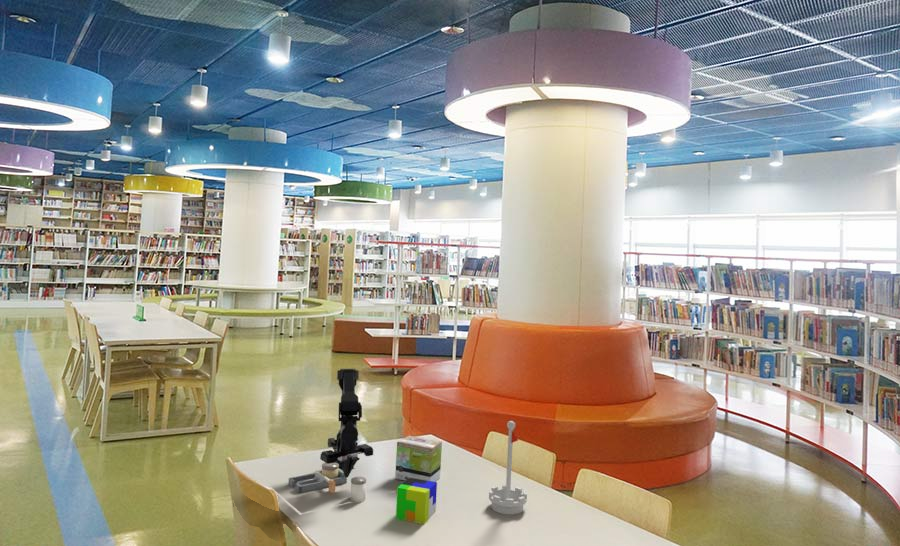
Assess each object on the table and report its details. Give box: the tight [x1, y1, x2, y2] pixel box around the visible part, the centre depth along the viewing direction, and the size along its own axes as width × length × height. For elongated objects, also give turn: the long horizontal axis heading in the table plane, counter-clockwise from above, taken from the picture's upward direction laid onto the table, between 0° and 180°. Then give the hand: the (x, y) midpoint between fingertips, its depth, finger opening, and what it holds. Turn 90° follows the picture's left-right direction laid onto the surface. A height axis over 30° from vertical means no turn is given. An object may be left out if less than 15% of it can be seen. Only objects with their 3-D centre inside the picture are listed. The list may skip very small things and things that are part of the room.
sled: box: [297, 470, 336, 494], centre depth 208 cm, size 10×14×4 cm
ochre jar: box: [321, 462, 339, 479], centre depth 216 cm, size 6×6×6 cm
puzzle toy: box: [395, 478, 438, 525], centre depth 191 cm, size 10×10×10 cm
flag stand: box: [488, 420, 528, 515], centre depth 200 cm, size 13×13×30 cm
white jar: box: [350, 476, 367, 503], centre depth 201 cm, size 5×5×7 cm
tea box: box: [394, 435, 443, 482], centre depth 223 cm, size 15×10×15 cm, turn 68°
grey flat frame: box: [288, 468, 348, 494], centre depth 213 cm, size 18×10×4 cm, turn 128°
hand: (346, 477), depth 209 cm, fingers closed
